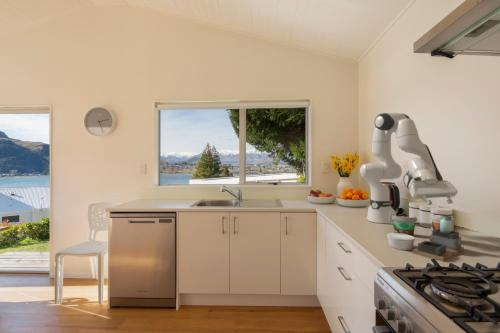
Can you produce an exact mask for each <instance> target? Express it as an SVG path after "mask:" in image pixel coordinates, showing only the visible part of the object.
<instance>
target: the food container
mask: <svg viewBox="0 0 500 333" xmlns="http://www.w3.org/2000/svg"><path fill="white" fill-rule="evenodd" d="M392 219H393V224H392V225H393V233H402V234H407V235H410V236H413V237H414V235H415V229H416V222H418V218H417V216H415V217H408V216H398V215H396V216H394V215H393V216H392Z"/></svg>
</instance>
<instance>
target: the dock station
mask: <svg viewBox="0 0 500 333" xmlns="http://www.w3.org/2000/svg"><path fill="white" fill-rule="evenodd" d="M431 232H432V233H431V234H429V241H428V240H423V241H421V242H418V243H417V247H416V248H414V249H413V248H412V254H415V255H418V256H421V257H425V258H429V259H433V260H436V261H440V262H444V261H447V260H448V259H450V258H452V257H454V256H456V255H458V254H460V253H461V252H464V251H465V249H464V246H462V236H460V235H459V234H460V232H459V231H454V230H453V231H451V234H448V233H443V232H440V229H436V230H433V231H431Z"/></svg>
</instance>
